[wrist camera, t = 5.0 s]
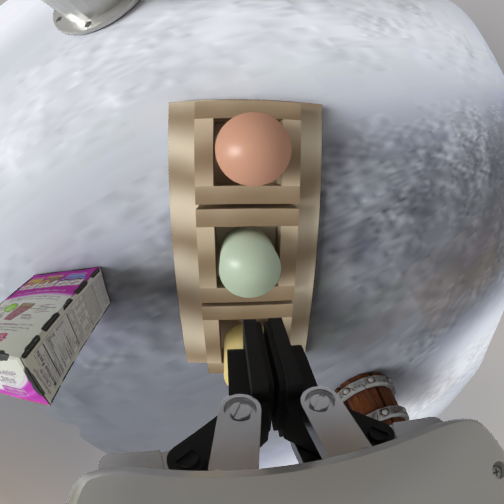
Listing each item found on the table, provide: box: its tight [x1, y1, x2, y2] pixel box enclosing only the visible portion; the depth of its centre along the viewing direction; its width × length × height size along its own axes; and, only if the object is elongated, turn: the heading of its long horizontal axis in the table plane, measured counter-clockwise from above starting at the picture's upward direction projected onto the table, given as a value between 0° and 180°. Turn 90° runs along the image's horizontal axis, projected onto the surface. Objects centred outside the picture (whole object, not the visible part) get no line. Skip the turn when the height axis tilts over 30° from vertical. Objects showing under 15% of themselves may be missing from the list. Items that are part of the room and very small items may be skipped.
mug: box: [335, 372, 409, 425], centre depth 31 cm, size 12×14×15 cm
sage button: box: [219, 226, 281, 298], centre depth 24 cm, size 5×5×5 cm
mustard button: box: [224, 323, 264, 386], centre depth 24 cm, size 5×5×5 cm
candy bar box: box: [0, 267, 110, 406], centre depth 20 cm, size 11×5×16 cm, turn 96°
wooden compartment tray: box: [168, 99, 322, 373], centre depth 26 cm, size 28×14×4 cm, turn 0°
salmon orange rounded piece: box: [215, 112, 292, 186], centre depth 19 cm, size 5×5×5 cm
